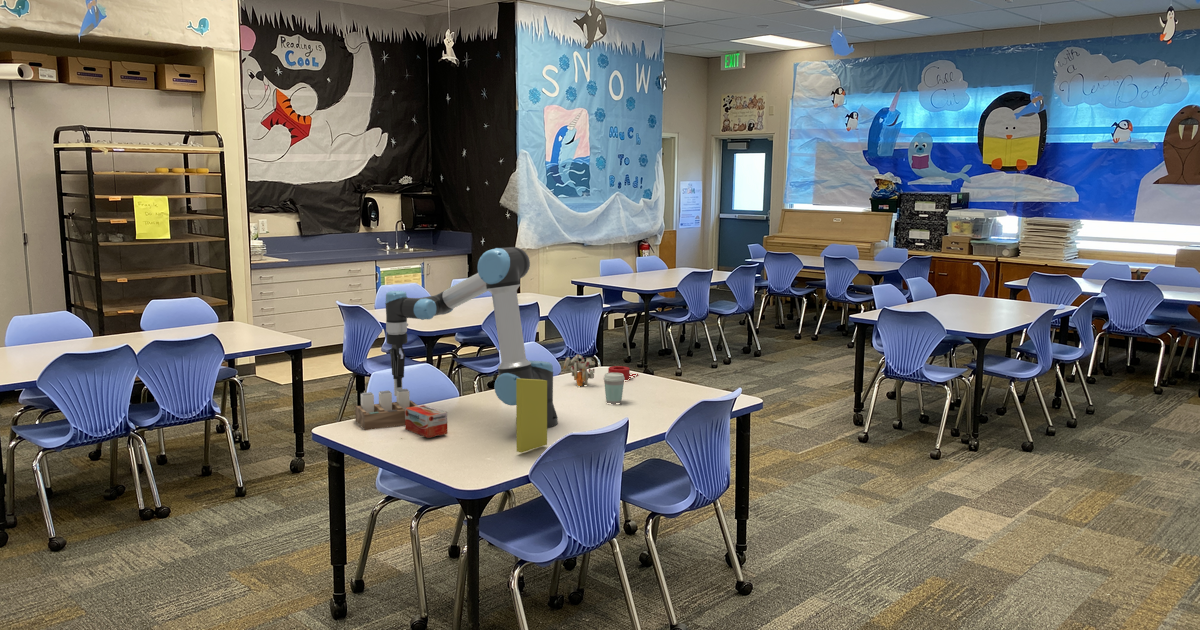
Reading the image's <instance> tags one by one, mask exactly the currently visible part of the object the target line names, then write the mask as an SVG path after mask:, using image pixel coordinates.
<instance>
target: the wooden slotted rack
mask: <svg viewBox="0 0 1200 630" xmlns="http://www.w3.org/2000/svg"><path fill="white" fill-rule="evenodd" d="M414 406H419V405H418V404H417V403H415V402H414V401H413V400H411V399H410V407H414ZM354 410H355V412H354V413H355V422H356V423H357V424H358V425H359V426H360V427H361V428H362V429H363V430H364V431H370V430H378V429H387V428H388V429H389V428H397V427H403V426H405V409H403V408H402V407H401V406H400V405H398V404H397V400H396V401H394V402H393V401H392V410H388V411H385V410H384V409H383V408H382V407H381V406H379V403H374V412H370V413H366V411H365V410H363V409H362V408H361V405H356V406H355V408H354Z"/></svg>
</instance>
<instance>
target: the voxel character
mask: <svg viewBox="0 0 1200 630" xmlns="http://www.w3.org/2000/svg"><path fill="white" fill-rule="evenodd" d="M579 359H580V360H579ZM585 360H586V361H585ZM570 363H572V364H573V365H571V367H570V371H571V376H572V377H573V380H574V381H576V386H577V385H578V386H582V387H583V385H587V386H588V381H589V379H592V380H593V379H594V378H595V368H592V369H591V368H589V365H590V366H595V365H596V362H595V361H594V360H593V361H592V358H586V359H585V358H584V357H583V355H581V354H576V355H574V357H573V358H572V359H571V358H570V357H565V361H564V363H563V367H562V369H563V370H565V369H567V368H568V366H569V364H570Z"/></svg>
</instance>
